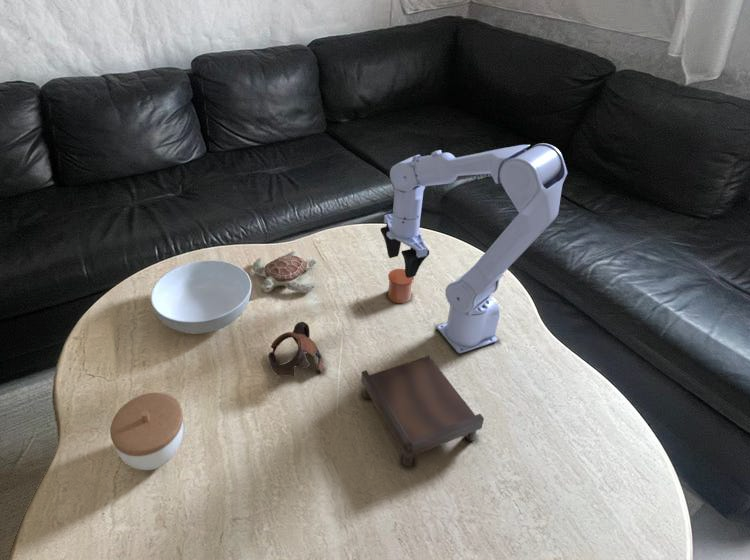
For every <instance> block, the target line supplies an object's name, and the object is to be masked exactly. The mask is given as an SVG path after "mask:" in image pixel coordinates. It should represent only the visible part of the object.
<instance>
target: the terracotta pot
mask: <svg viewBox="0 0 750 560" xmlns="http://www.w3.org/2000/svg"><path fill="white" fill-rule="evenodd" d="M387 278H388V292H387V295H388V299H389V300H390V301H391V302H394V303H397V304H405V303H407V302H409V301H410V300H411V297H412V296H411V295H412V288H413V283H414V280H415V276H413V277H410V278H407V277H406V275H405V268H395V269H392V270H390V271H389V272H388V276H387Z"/></svg>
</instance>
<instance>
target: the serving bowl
mask: <svg viewBox="0 0 750 560" xmlns="http://www.w3.org/2000/svg"><path fill="white" fill-rule="evenodd" d="M252 288H253V287H252V280H251V277H250V275H249V274H248V273H247V271H246V270H244V268H242V267H241V266H238V265H236V264H235V263H232V262H229V261H224V260H220V259H219V260H218V259H205V260H196V261H192V262H188V263H184V264H181V265H179V266H176V267H174V268H173V269H171V270H169V271H167V272H166V273H164V274H163V275H162V276H161V277H159V279H158V280H157V281H156V283H155V284H154V285H153V287H152V289H151V293H150V303H151V307H152V308H153V311H154V313H155V315H156V316H157V318H158V319H159V320H160V321H161V322H162V323H163V324H164V325H166V326H167V327H168V328H170V329H171V330H175V331H177V332H181V333H184V334H195V335H197V334H207V333H211V332H215V331H218V330H220V329H223V328H225V327H227V326H229V325H230V324H231V323H233V322H235V321H236V320H237V319H238V318H239V317H240V316H241V315H242V314H243V312H244V311H245V309H247V306H248V304H249V301H250V299H251V294H252Z"/></svg>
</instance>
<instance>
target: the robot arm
mask: <svg viewBox="0 0 750 560" xmlns="http://www.w3.org/2000/svg"><path fill="white" fill-rule="evenodd" d="M530 146H531V144H519V145H514V146H513V145H512V146H510V147H509V146H508V147H503V148H496V149H493V150H486V151H483V152H478V153H473V154H468V155H467V154H466V155H463V156H458V157H455V155H454V154H452V153H450V152H442V150H441V149H439V150H434V151H432V152H431V154H430V155H423V156H421V154H416V155H413V156H410V157H408V158H406V159H404V160H402V161H400V162H398V163H395V164H394V165H392V166H391V168H390V171H389V180H390V182H391V183H392V186H394V193H393V207H392V213H388V214H384V216H383V217H384V218H383V223H384V225H385V226H382V227H381V228H380V233H381V234H382V237H383V239H384V243H385V246H386V251H387V256H388V258H389V259H392V258H396V257H399V255H400V250H401V245H402V244H403V245H405V246H407V247H409V248H410V249H409V248H407V249H405V250H401V254H402V257H403V260H404V269H405V275H406V277H407V278H410V277H413V276H414V277H416V275H417V273H418V271H419V269H420V267H421V265H422V263H423V262H424V261H425V260H426V258H428V256H429V255H430V250H429V248H428V246H427V245H425V242H424V238H423V236H422V234H421V230H420V227H421V226H420V225H421V218H422V217H421V215H422V208H423V198H424V191H425V190H426V187H428V186H430V187H431V186H439V185H446V184H448V185H449V184H453V183H454V182H455V181H456V180H457V178H458V177H461V176H476V175H477V176H478V175H491V178H492V179H493V181H494V183H495V184H497V185H499V184H501V185H502V187H503V189H504V190H505V193H506V194H507V196H508V197H509V199H510V201H511V202H512V204H513V205H514V207H515V209H516V211H517V212H518V214H517V215H516V216H515V217H514V218H513V219H512V221H511V222H510V223H509V224H508V226H507V227H506V228H505V229H504V230H503V232H502V233H500V235H499V236H498V237H497V238H496V240H494V242H493V243H492V244H491V245H490V247H489V248H488V249H487V250H486V251H485V253H484V254H483V255H482V256H481V257H480V258H479V259H478V260H477V262H476V263H475V264H474V265H473V266H472V267H471V268H470V269H469V270H468V271H466V272H465V273H463V274H462V275H461V276H460V277H458V278H457V279H456V280H454V281H453V282H452V281H451V282H449V283H448V285H446V288H445V292H444V293H445V298H446V300H447V302H448V303H449V310H448V316H447V322H446V323H443V324H440V325H437V330H438V332H439V333H440V334H441V335H442V336H443V337H444V338H445V340H446V341H447V342H448V343H449V345H451V347H452V348H453V349H454V350H455V351H456V352H457V354H463V353H466V352H469V351H472V350H475V349H477V348H481V347H484V346H487V345H490V344H493V343H497V342H498V337H497V336H496V333H497V329H498V325H499V320H500V312H501V311H500V307H499V304H498V302H497V300H496V299H495V298H494V297H493V295H492V294H493V293H495V292H496V291H497V290H498V289H499V286H500V280H501V279H502V277H504V273H506V271H507V270H508V269H509V268H510V267H511V266H512V265H513V264H514V263H515V262H516V261H517V260H518V259H519V257H521V255H522V254H523V253H524V252H526V250H527V249H529V247H530V246H531V245H532V244H533V243H534V242H535V241H536V240H537V239H538V237H540V236H541V234H542V233H543V232H544V231H545V230H546V229H547V228H548V227H549V226H550V225H551V224H552V223H553V222H554V221H555V220H556V218H557V217H558V215H559V211H560V204H561V198H562V197H561V196H562V192H563V191H562V190H563V184H564V182H565V180H566V177H567V175H568V169H567V167H566V163H565V160H564V157H563V154H562V152H561V151H560V150H559V149H558V148H557V147H556V146H554V145H552V144H549V143H544V142H542V143H537V144H535V145H533V146H531V147H530ZM529 147H530V148H529ZM528 148H529V149H528Z"/></svg>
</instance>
